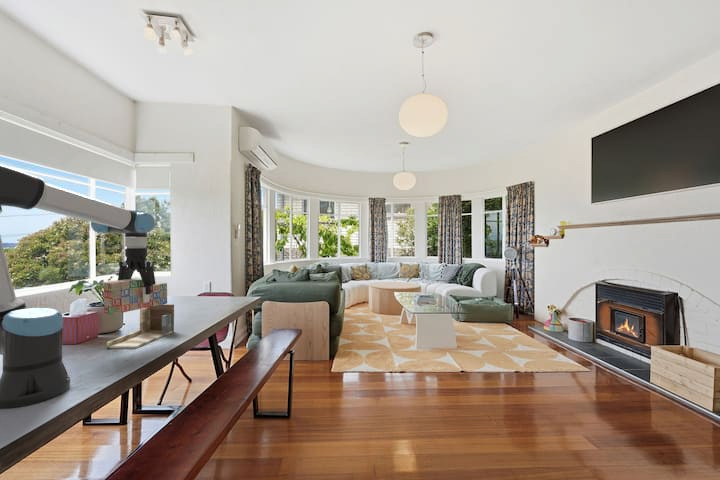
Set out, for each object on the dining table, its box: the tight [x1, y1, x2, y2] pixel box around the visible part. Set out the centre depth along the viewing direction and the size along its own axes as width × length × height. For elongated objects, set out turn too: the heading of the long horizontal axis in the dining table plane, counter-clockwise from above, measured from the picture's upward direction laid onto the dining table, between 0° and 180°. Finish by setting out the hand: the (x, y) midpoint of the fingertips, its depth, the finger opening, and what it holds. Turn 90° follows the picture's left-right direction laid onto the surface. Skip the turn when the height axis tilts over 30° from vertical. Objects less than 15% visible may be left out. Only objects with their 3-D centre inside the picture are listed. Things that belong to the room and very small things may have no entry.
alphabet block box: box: [106, 303, 175, 350], centre depth 139 cm, size 24×12×13 cm, turn 177°
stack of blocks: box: [103, 277, 168, 315], centre depth 131 cm, size 21×6×12 cm, turn 153°
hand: (136, 302), depth 131 cm, fingers closed on stack of blocks, 8 cm apart
